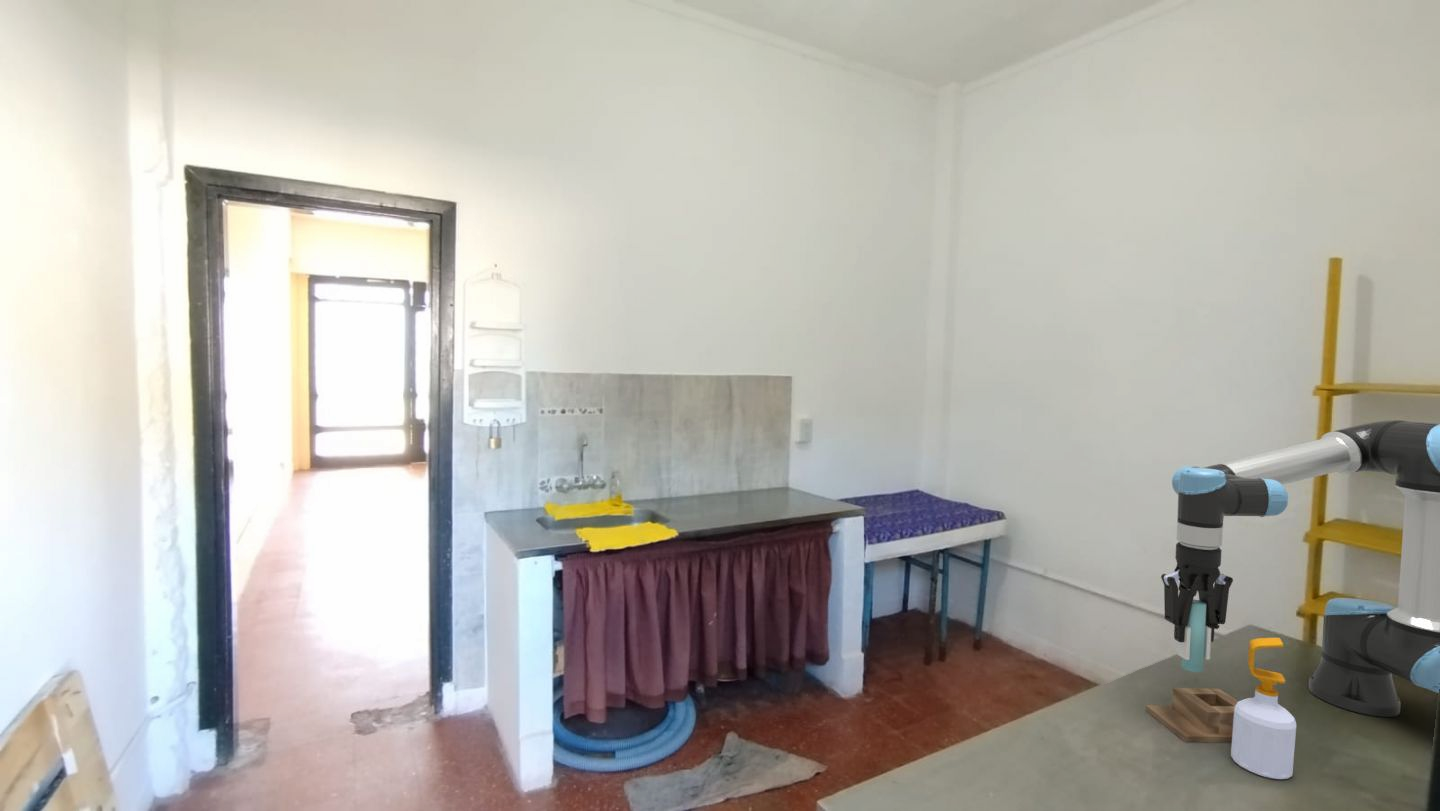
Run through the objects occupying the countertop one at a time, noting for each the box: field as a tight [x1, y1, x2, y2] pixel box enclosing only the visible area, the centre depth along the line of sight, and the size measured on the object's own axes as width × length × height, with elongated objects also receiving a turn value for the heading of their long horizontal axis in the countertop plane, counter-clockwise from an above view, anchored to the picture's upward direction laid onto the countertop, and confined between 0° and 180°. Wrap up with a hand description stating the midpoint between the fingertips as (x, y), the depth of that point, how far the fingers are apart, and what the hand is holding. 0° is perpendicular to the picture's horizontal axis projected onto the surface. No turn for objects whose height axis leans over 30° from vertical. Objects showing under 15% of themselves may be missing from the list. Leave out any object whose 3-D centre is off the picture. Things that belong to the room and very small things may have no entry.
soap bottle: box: [1230, 637, 1297, 780], centre depth 124 cm, size 9×9×25 cm
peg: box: [1181, 598, 1206, 674], centre depth 135 cm, size 4×4×14 cm
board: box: [1145, 687, 1240, 744], centre depth 138 cm, size 20×12×6 cm, turn 91°
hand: (1192, 656), depth 136 cm, fingers closed on peg, 3 cm apart
